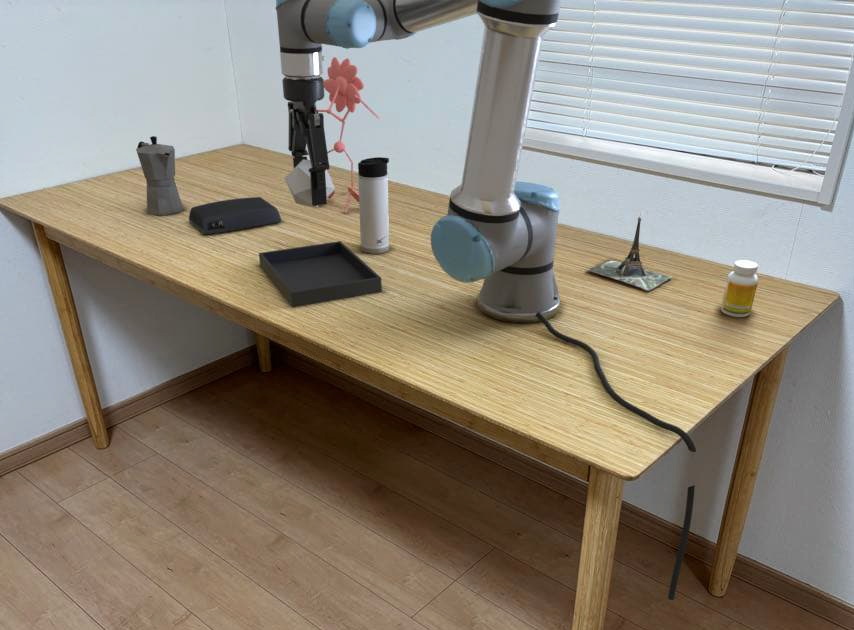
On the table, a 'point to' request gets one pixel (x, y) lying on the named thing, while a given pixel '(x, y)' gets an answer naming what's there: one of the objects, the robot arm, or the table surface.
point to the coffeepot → (159, 177)
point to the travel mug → (373, 205)
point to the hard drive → (233, 215)
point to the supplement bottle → (740, 289)
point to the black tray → (319, 273)
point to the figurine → (343, 103)
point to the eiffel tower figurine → (632, 269)
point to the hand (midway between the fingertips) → (310, 197)
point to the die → (305, 183)
